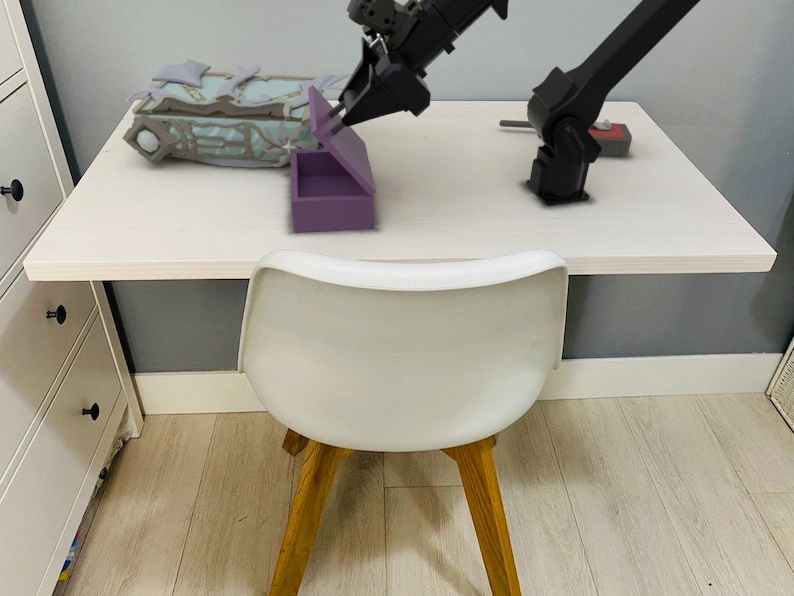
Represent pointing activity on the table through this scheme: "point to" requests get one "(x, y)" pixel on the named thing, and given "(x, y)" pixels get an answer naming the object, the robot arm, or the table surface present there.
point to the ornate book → (225, 116)
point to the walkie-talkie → (596, 135)
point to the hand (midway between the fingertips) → (342, 112)
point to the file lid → (340, 136)
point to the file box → (327, 194)
